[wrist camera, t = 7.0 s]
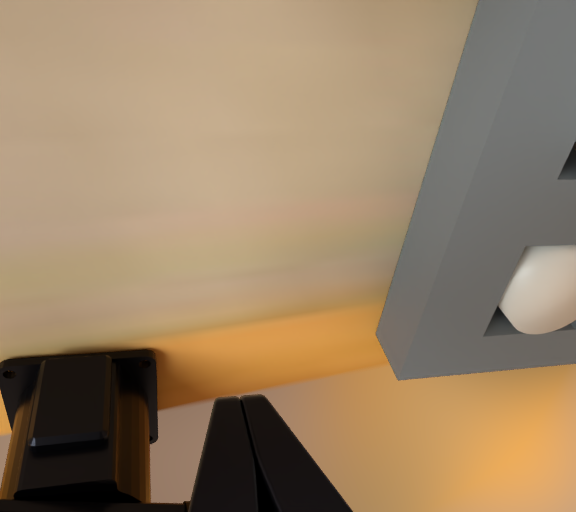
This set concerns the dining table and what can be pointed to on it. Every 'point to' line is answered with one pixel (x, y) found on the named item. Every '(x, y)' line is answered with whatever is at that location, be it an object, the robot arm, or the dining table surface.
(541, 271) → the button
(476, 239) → the button board
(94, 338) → the dining table surface
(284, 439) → the robot arm
